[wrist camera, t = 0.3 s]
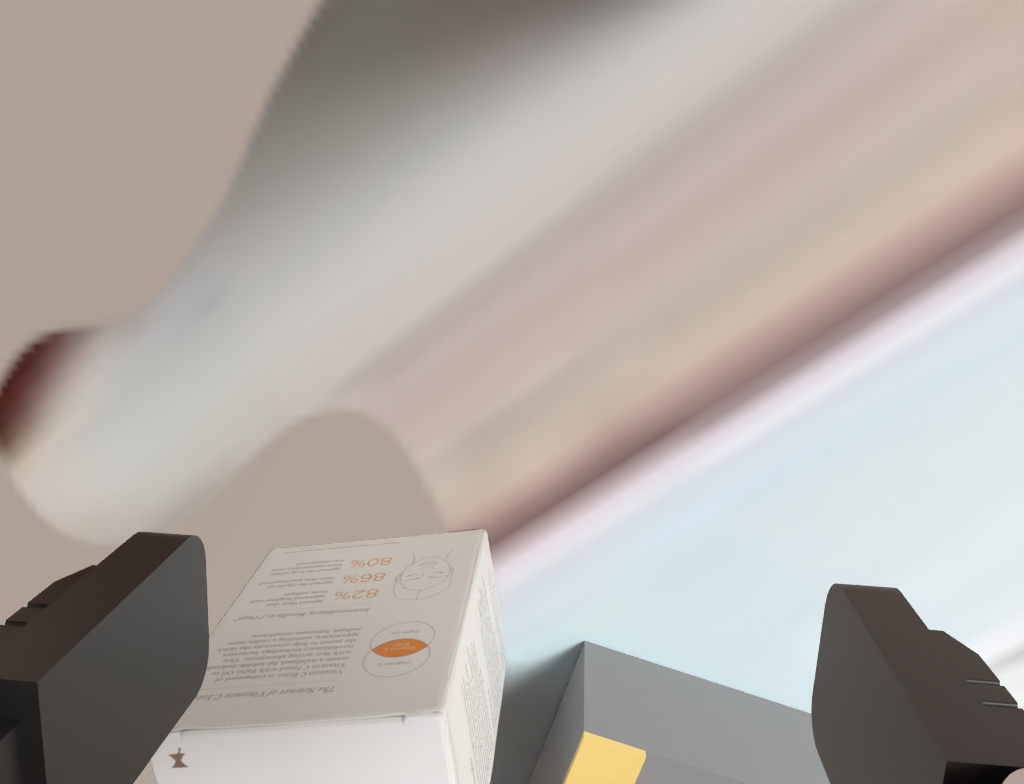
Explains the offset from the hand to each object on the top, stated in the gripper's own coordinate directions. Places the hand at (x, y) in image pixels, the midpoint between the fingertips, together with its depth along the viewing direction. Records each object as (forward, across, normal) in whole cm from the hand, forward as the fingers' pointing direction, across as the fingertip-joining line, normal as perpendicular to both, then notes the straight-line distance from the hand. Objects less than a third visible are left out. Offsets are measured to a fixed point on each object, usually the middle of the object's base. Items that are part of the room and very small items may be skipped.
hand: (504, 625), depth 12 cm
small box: (+20, +5, +10) cm, 23 cm away
